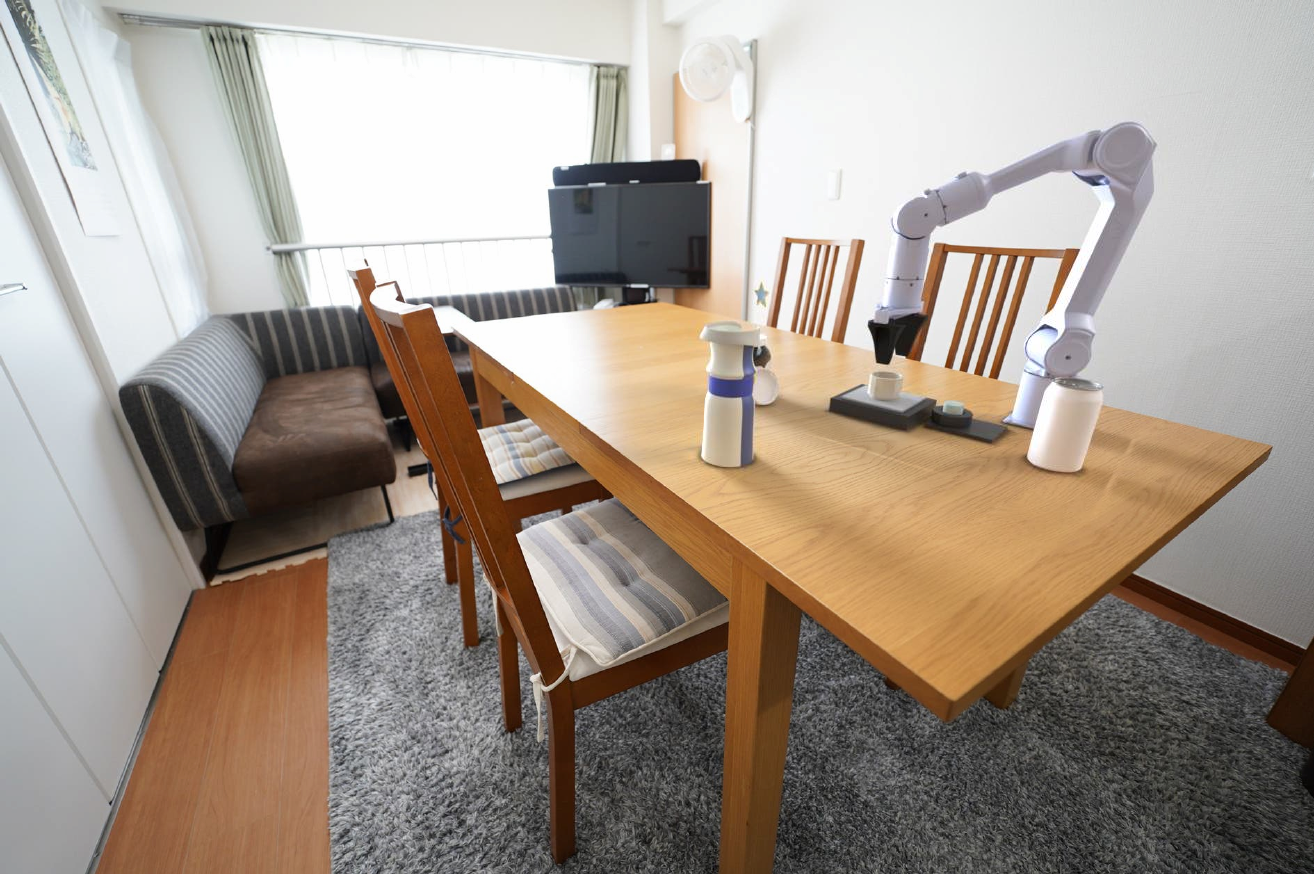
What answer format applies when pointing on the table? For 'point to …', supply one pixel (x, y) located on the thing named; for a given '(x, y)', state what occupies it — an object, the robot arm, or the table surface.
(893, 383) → the bowl
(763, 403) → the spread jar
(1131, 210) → the robot arm
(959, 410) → the button
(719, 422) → the water bottle
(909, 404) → the scale
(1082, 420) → the can
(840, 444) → the table surface
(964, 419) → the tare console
